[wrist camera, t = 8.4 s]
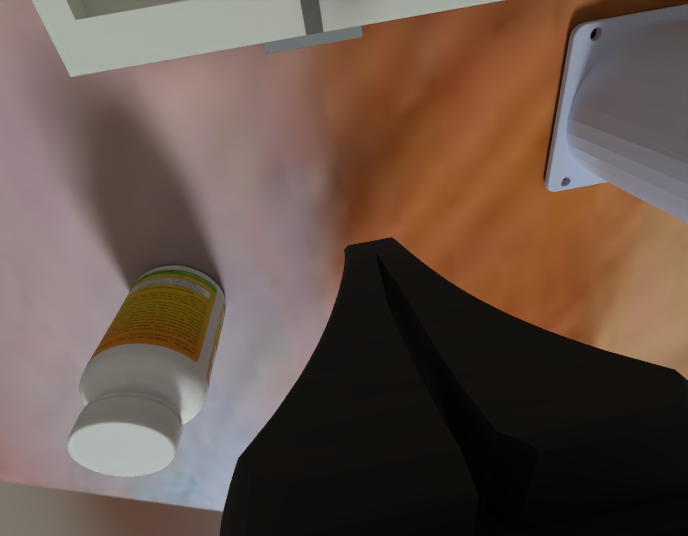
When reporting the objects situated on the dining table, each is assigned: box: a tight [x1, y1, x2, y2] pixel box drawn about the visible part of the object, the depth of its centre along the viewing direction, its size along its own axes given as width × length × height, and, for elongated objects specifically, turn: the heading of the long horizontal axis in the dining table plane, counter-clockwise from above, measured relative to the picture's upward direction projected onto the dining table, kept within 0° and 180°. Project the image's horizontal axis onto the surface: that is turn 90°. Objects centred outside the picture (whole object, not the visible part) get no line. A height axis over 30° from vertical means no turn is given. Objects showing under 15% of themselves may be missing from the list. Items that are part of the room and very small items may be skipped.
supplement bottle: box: [67, 265, 226, 476], centre depth 19 cm, size 5×5×10 cm
